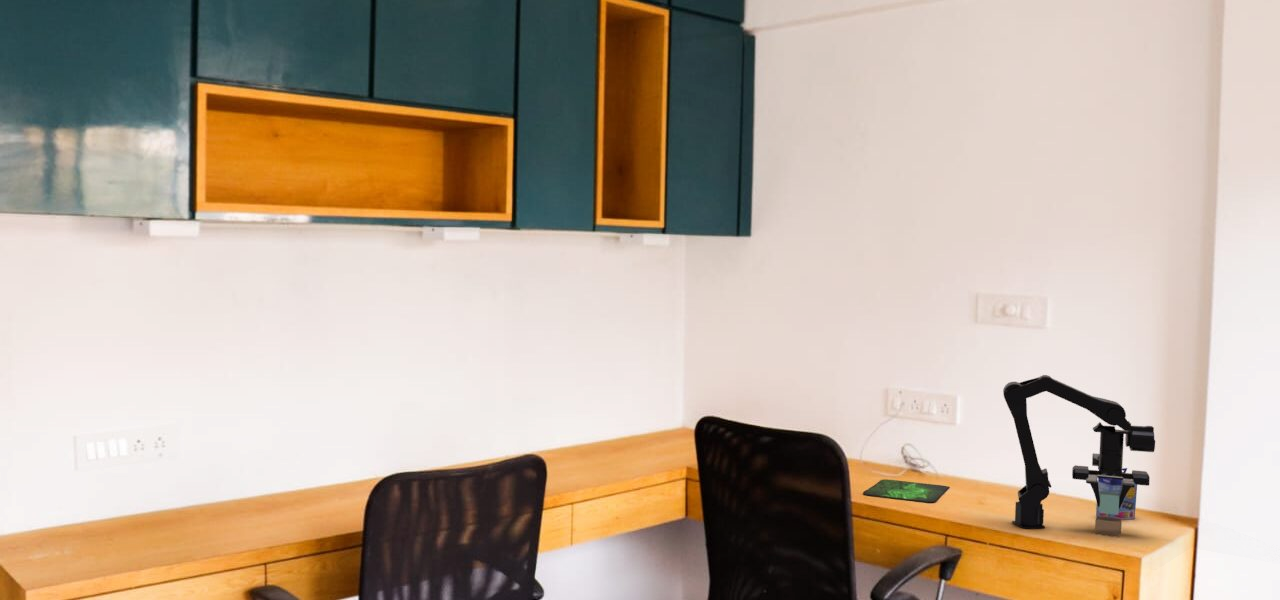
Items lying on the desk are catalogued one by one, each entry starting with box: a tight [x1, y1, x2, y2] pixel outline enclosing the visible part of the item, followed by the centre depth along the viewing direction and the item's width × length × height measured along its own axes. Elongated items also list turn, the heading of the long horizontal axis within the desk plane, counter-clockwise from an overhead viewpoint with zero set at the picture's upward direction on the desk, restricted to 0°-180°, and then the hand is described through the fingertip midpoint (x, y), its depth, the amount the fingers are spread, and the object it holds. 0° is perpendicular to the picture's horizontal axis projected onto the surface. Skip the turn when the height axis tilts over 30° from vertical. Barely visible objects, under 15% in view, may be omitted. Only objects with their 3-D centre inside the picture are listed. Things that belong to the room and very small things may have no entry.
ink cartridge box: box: [1095, 467, 1138, 521], centre depth 309 cm, size 10×6×14 cm, turn 111°
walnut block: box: [1094, 515, 1123, 538], centre depth 293 cm, size 6×6×4 cm
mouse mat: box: [862, 479, 951, 504], centre depth 339 cm, size 27×22×1 cm
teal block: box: [1099, 491, 1119, 515], centre depth 292 cm, size 5×5×5 cm
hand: (1108, 507), depth 292 cm, fingers closed on teal block, 5 cm apart
